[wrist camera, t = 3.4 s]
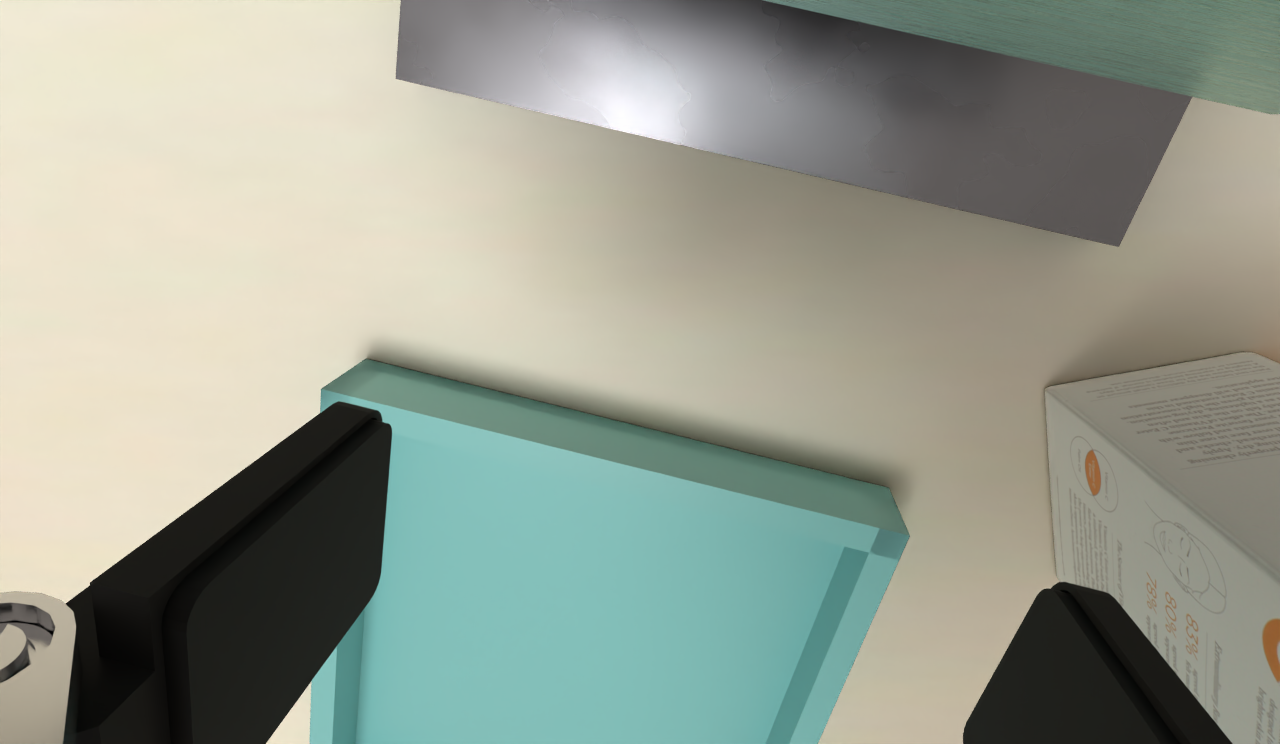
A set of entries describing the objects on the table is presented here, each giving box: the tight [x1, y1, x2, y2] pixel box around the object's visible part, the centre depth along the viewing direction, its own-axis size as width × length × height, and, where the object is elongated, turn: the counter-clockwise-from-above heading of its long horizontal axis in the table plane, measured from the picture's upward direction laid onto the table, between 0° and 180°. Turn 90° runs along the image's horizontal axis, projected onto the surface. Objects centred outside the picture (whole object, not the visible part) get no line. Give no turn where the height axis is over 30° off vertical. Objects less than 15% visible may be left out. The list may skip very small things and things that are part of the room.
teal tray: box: [310, 359, 910, 744], centre depth 27 cm, size 20×22×3 cm
